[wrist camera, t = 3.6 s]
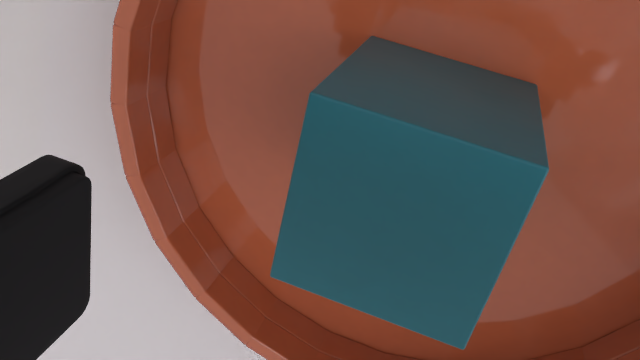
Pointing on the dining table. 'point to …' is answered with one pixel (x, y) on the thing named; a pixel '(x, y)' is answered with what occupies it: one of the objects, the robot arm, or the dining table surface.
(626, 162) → the bowl
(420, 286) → the block
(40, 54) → the dining table surface
